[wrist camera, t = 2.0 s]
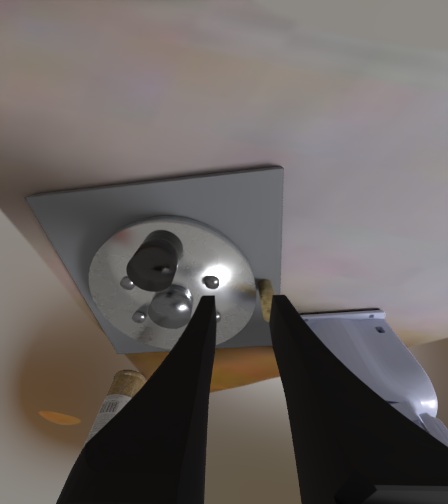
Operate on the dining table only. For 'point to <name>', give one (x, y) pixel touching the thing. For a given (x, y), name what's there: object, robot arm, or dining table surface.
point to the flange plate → (187, 273)
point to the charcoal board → (180, 205)
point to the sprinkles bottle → (117, 397)
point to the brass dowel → (265, 297)
